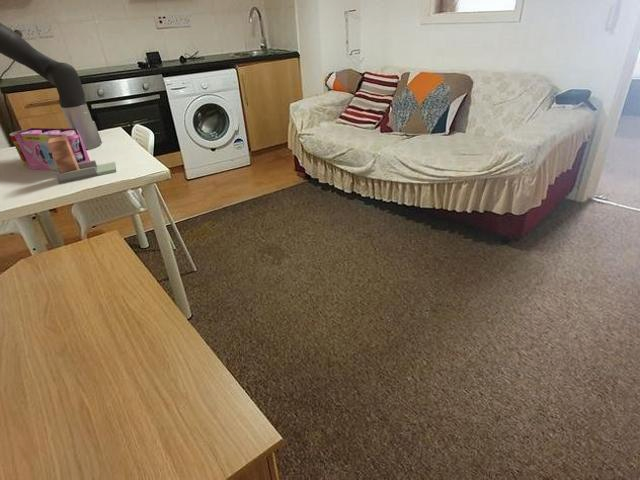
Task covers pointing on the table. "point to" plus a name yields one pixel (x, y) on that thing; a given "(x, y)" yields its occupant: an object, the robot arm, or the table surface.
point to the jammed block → (63, 154)
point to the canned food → (18, 148)
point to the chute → (86, 171)
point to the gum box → (39, 150)
